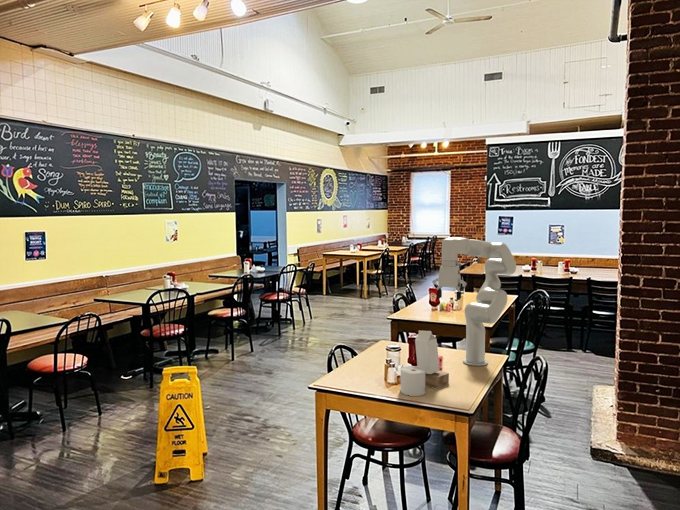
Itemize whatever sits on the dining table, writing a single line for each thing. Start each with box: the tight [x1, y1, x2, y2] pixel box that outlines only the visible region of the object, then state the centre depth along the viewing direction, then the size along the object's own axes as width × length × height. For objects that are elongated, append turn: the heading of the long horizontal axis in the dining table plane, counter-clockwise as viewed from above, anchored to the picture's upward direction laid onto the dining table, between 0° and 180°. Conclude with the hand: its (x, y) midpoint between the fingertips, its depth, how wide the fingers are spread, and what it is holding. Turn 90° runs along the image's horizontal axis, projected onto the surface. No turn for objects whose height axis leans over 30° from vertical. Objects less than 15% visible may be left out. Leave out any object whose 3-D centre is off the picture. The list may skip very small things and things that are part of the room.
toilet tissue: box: [400, 364, 426, 397], centre depth 216 cm, size 11×12×10 cm
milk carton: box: [414, 330, 441, 374], centre depth 228 cm, size 7×7×19 cm
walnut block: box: [425, 370, 450, 389], centre depth 228 cm, size 10×10×5 cm
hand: (448, 298), depth 242 cm, fingers open, 9 cm apart
